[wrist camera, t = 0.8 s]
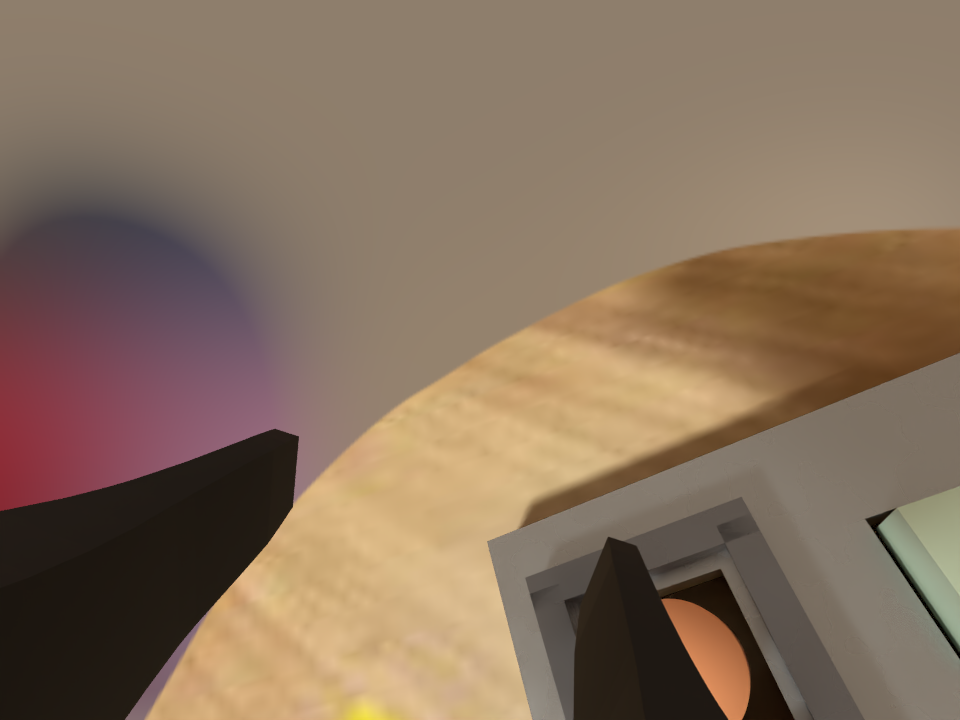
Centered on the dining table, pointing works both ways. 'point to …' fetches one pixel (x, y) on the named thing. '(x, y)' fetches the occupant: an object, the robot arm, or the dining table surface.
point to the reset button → (714, 655)
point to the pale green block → (930, 553)
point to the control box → (771, 554)
